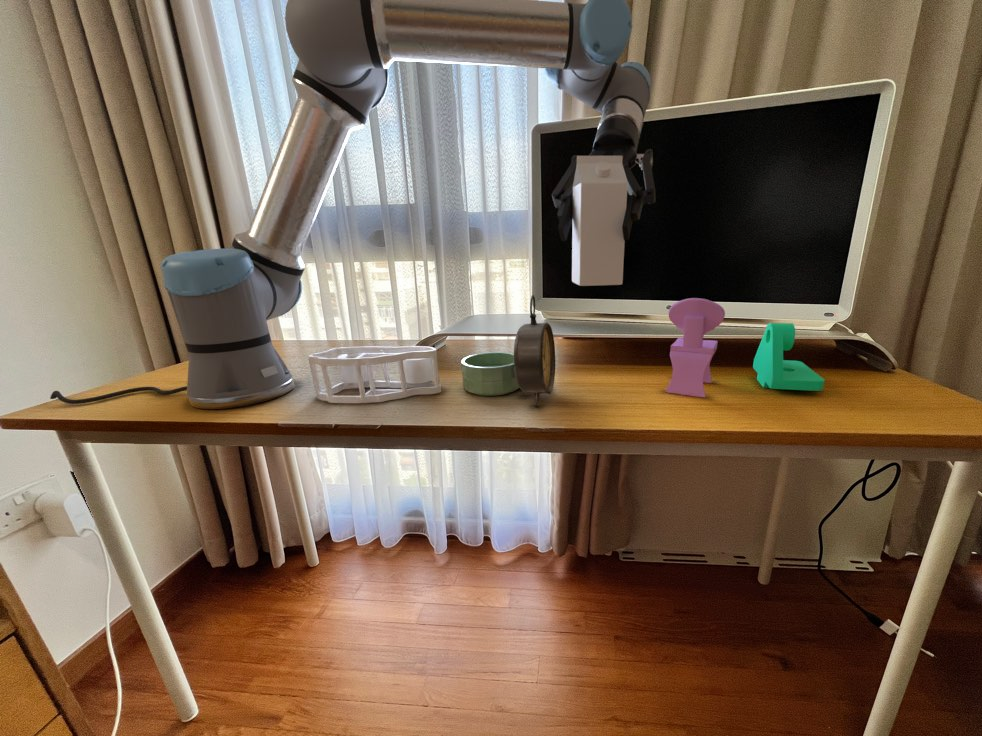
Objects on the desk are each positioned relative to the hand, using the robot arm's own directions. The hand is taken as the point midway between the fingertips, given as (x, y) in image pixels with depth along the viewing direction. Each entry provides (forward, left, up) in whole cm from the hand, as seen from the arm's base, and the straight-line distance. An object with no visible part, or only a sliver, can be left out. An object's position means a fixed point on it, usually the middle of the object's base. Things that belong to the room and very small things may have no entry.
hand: (592, 234), depth 67 cm
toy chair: (+17, +3, -25) cm, 30 cm away
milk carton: (0, +3, -8) cm, 9 cm away
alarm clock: (-6, -10, -25) cm, 27 cm away
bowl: (-15, -7, -24) cm, 30 cm away
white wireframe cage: (-32, -15, -25) cm, 43 cm away
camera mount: (+32, +9, -25) cm, 41 cm away
